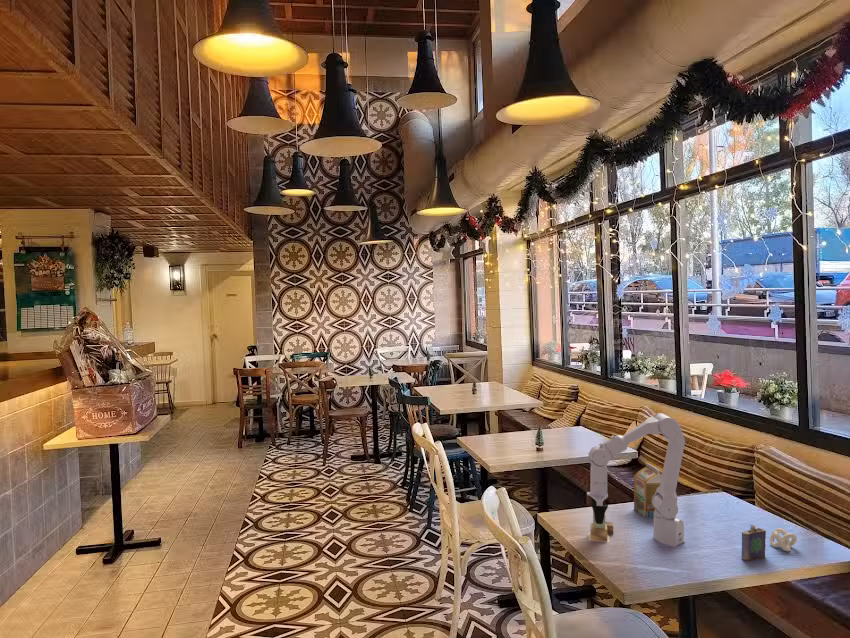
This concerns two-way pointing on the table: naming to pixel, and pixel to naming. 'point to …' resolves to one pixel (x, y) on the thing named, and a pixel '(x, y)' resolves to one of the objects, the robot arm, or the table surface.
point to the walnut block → (609, 527)
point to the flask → (753, 544)
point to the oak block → (598, 533)
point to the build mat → (598, 540)
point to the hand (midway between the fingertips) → (598, 519)
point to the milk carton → (646, 490)
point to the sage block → (598, 524)
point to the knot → (782, 539)
